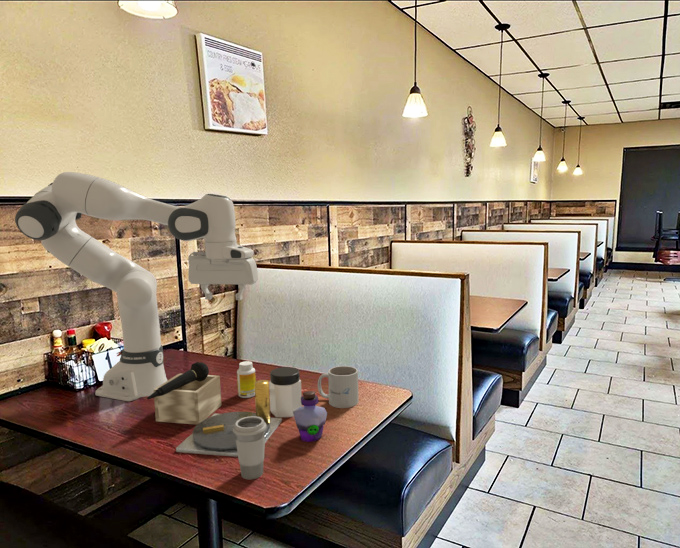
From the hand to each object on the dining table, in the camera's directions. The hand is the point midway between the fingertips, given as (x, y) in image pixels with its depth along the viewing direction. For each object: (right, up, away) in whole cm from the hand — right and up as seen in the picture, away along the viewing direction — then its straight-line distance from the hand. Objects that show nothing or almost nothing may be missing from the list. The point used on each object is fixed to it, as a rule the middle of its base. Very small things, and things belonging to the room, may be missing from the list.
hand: (224, 299), depth 139 cm
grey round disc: (+6, -32, -17) cm, 37 cm away
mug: (+33, -31, +2) cm, 45 cm away
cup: (+15, -36, -35) cm, 53 cm away
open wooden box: (-9, -32, -3) cm, 33 cm away
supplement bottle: (+5, -30, +9) cm, 32 cm away
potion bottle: (+26, -34, -20) cm, 47 cm away
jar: (+18, -32, -4) cm, 37 cm away
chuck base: (+6, -34, -17) cm, 38 cm away
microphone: (-16, -25, -15) cm, 33 cm away
